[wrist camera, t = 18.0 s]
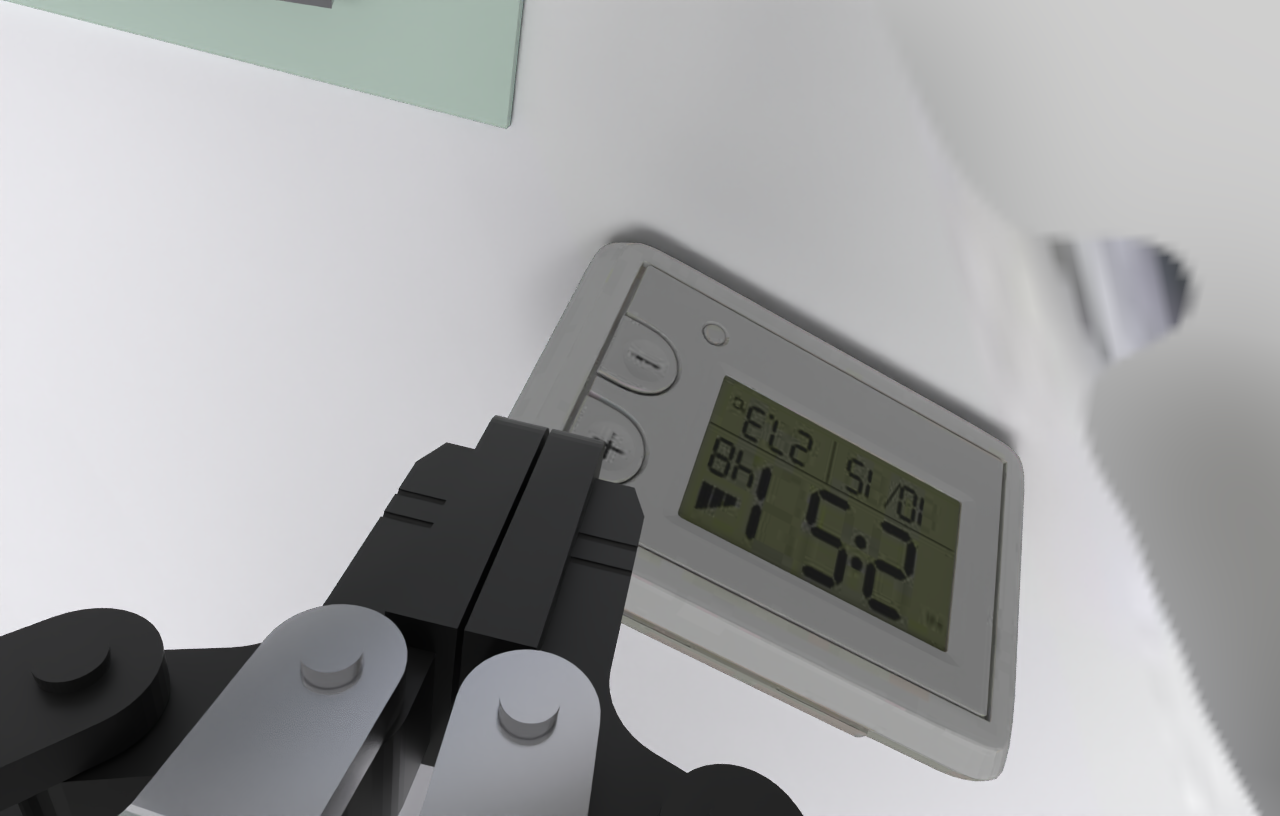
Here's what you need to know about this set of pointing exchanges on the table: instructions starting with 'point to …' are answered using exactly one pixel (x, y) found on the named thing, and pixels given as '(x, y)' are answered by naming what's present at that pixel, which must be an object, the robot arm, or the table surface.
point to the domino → (313, 2)
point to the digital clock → (797, 509)
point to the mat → (345, 43)
